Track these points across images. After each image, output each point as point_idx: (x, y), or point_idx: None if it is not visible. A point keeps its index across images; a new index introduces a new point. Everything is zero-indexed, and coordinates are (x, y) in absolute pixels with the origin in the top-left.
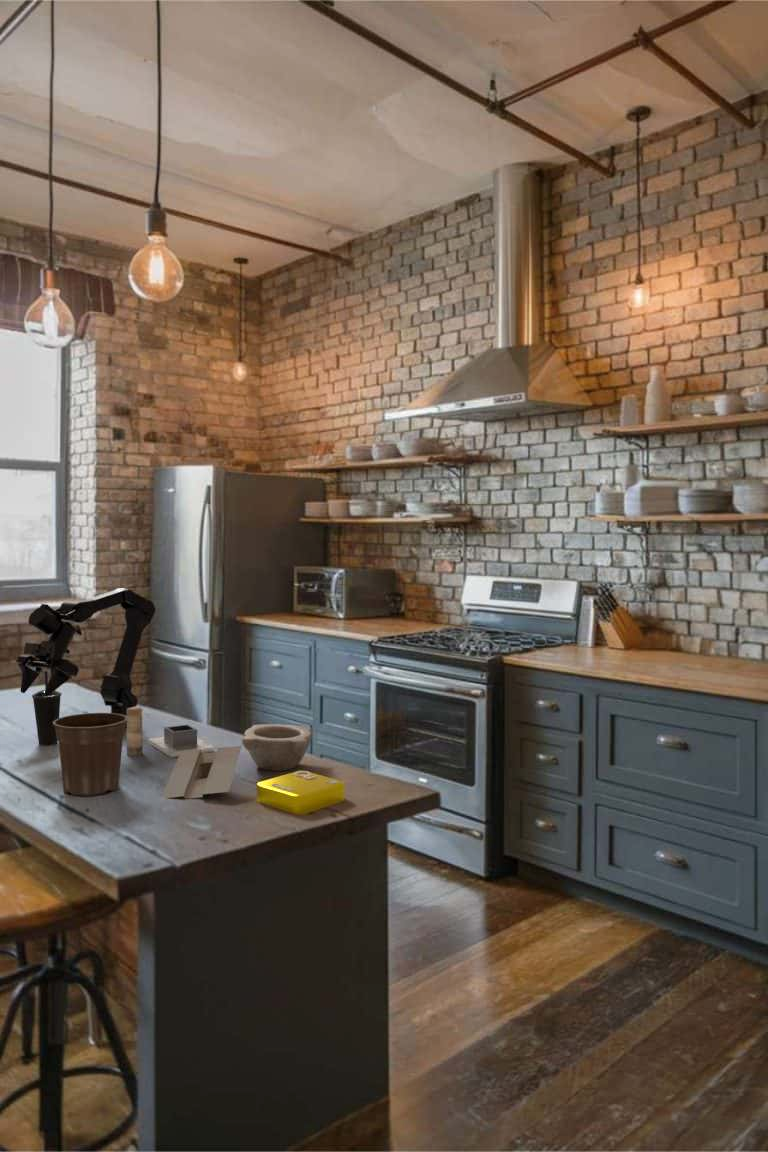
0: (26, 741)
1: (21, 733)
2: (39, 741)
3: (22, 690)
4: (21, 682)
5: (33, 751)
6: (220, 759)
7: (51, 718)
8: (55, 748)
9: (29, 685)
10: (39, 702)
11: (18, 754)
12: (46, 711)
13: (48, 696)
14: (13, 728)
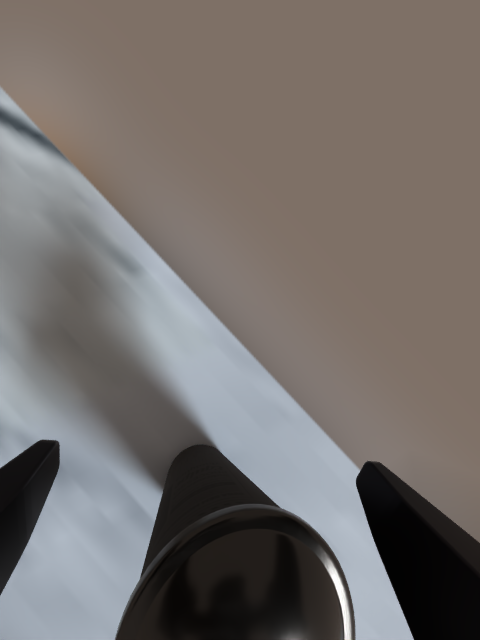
0: (281, 460)
1: (371, 534)
2: (211, 448)
3: (373, 474)
4: (474, 539)
5: (168, 369)
6: None
7: (160, 508)
8: (124, 433)
9: (405, 596)
10: (218, 502)
11: (186, 322)
12: (175, 502)
13: (152, 578)
14: None
